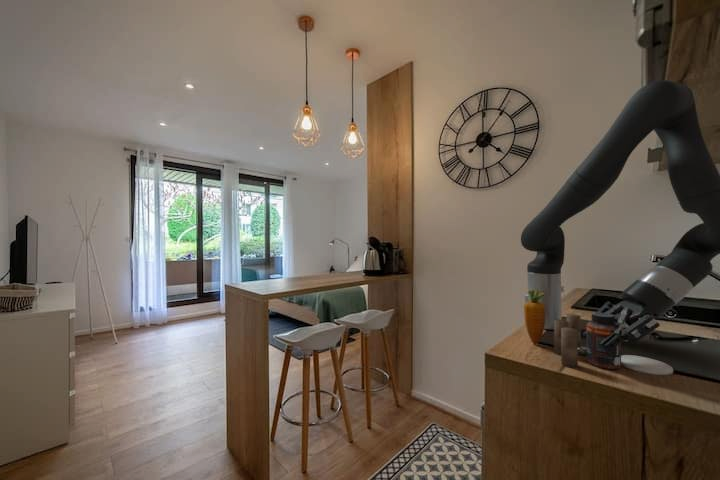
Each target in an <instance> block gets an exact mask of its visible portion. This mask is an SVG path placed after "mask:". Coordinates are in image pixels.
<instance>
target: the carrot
mask: <svg viewBox="0 0 720 480" xmlns="http://www.w3.org/2000/svg"><path fill="white" fill-rule="evenodd" d="M528 292H529V294H530V297H531V301H529V302H526V303H525V302H524V304H523V313H524V314H523V316H524V322H525V323H524V324H525V328H526V332H527V334H528V336H529V338H530V340H531V342H532V344H534V345H537V344H538V343H539V342H540V340H541V338H542V335H543V333H544V330H545V329H544V325H545V306H544V305H543V304H542V303H540V302H538V300H539V299H540V298H541V297H542V296H544V295H545V294H544V293H542V294H540V295H539V296H538V293H539V290H537V291H536V294H535V297H534V290H533V289H531V290H530V291H528V290H527V293H528Z"/></svg>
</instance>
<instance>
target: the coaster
mask: <svg viewBox="0 0 720 480" xmlns="http://www.w3.org/2000/svg"><path fill="white" fill-rule="evenodd" d="M621 367H624V368H626V369H629V370H631V371H632V370H633V371H635V372H638V373H643V374H648V375H654V376H670V375H673V374H674V369H673V367H672V366H671V365H669V364H667V363H665V362H664V361H660V360H657V359H653V358H651V357H650V358H649V357H646V356H639V355H634V354H633V355H631V354H623V355H622V354H621Z"/></svg>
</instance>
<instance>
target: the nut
mask: <svg viewBox="0 0 720 480" xmlns="http://www.w3.org/2000/svg"><path fill="white" fill-rule="evenodd" d="M578 355H582V356H587V346H578Z"/></svg>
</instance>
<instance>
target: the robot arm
mask: <svg viewBox="0 0 720 480" xmlns="http://www.w3.org/2000/svg"><path fill="white" fill-rule="evenodd" d="M699 122H700V121H699V118H698V111H697V107H696V102H695V96H694V93H693V90H692V89H691V87H689V86H687V85H686V84H683V83H682V82H681V83H680V82H676V81H675V82H674V81H672V80H665V79H664V80H663V79H661V80H658V81H657V80H656V81H653V82H651V83H648V84H646V85H644V86H642V87H641V88H639V89H638V90H637V91H636V92H635V93H634V94H633V95H632V96H631V97H630V98H629V100H628V101H627V103H626V104H625V105H624V107H623V109H622V110H621V112H620V113H619V115H618V116H617V117H616V119H615V120H614V122H613V123H612V125H611V126H610V127H609V129H608V130H607V132H606V133H605V134H604V136H603V137H602V139H600V141H599V142H598V143H597V144H596V145H595V146H594V148H593V149H592V150H591V151H590V152H589V153H588V155H587V156H586V158H584V160H583V161H582V162H581V163H580V164H579V166H577V168H576V169H575V170H574V172H573V173H572V174H571V175H570V177H568V179H567V180H566V181H565V182H564V184H563V185H562V186H561V188H560V189H559V190H558V191H557V192H556V194H555V195H554V196H553V198H552V199H551V200H550V201H549V202H548V203H547V204H546V206H545V207H544V208H543V209H542V210H541V211H540V212H538V214H537V215H536V216H535V217H534V218H532V220H531V221H529V223H527V224H526V226H525V227H524V229H523V230H522V232H521V235H520V244H521V246H522V247H523V248H524V249H525V250H526V251H530V252H535V253H536V256H535V258H534V259H533V260H531V261H530V262H529V263H528V264H527V267H526V271H527V273H526V274H527V275H526V276H527V277H526V278H527V293H526V294H525V295H524V304H525V303H526V302H529V301H531V297H530V294H529V292H528V291H530V290H531V289H533V290H534V297H535V294H536V291H537V290H539V293H538V296H539V295H540V294H542V293H544V294H545V295H544V296H542V297H541V298H540V299H539V300H538V302H540V303H542V304H543V305H544V306H545V325H544V330H553V331H554V320H557V319H558V320H563V319H562V318H563V317H562V314H563V313H562V267H563V265H564V263H565V246H566V245H565V243H566V239H565V234H564V230H563V229H562V225H563V224H564V223H566V221H568V220H570V219H571V218H573V217H574V216H576V215H578V214H579V213H581V212H583V211H584V210H586V209H587V208H589V207H590V206H592V205H593V204H595V203H596V202H597V201H598V200H600V198H602V197H603V195H604V194H605V193H607V191H609V189H610V188H611V187H612V186H613V185H614V184H615V182H616V181H617V180H618V179H619V177H620V175H621V174H622V171H623V169H624V167H625V165H626V163H627V161H628V160H629V158H630V156H631V154H632V153H633V152H634V150H635V149H636V148H637V146H638V145H639V144H640V143H641V142H642V141H643V140H644V139H646V137H647V136H649V134H650V133H652V132H655V134H656V135H657V136H658V138H659V139H660V142H661V144H662V146H663V149H664V152H665V157H666V164H667V173H668V177H669V181H670V184H671V186H672V191H673V192H674V194H675V197H676V199H677V201H678V203H679V206H680V207H681V209H682V211H684V212H685V213H688V214H695V215H697V216H698V217H699V218H700V220H701V221H702V223H699V224H697V225H695V226H693V227H691V228H690V229H688V230H687V231H686V232H685V233H684V234H683V235H682V236H681V237H680V239H679V240H678V242H677V243H676V244H675V246H674V247H673V249H672V251H671V252H670V253H669V254H666V256H665V257H664V258H662V260H660V261H659V262H657V264H655V265H654V266H653V267H652V268H650V269H648V270H646V271H645V272H643V274H641V276H639V277H638V278H637V279H636V280H634V282H632V283H631V284H630V285H628V287H626V288H625V289H624V290H623V291H622V292H621V297H622V300H621V301H619V302H618V303H616V304H613V303H611V301H607V302H605V303H604V304H603V305H602V306H601V307H600V308H599V309H598V310H597V311H596V312H599V313H608V314H612V315H614V316H615V321H614V322H615V324H616V325H617V327H616V329H615V331H614V333H615V334H614V333H611V334H610V335H608V336H607V337H606V338H605V339H604V340H602V341H601V342H600V343H599V345H600V346H601V347H602V348H603V349H604V350H606V351H607V352H610V351H611V350H613V349H614V348H615V347H617V346H618V345H619V344H620V343H621V344H622V342H628V341H630V342H631V343H633V344H634V343H637V342H638V341H639V340H641V339H643V338H645V336H647V335H649V334H650V333H651V332H653V331H654V330H656V329H658V327H660V326H661V324H660V323H659V322H658V321H657V320H656V319H659V318H661V317H662V316H664V315H665V313H667V312H669V310H671V309H672V308H673V307H675V305H676V304H678V303H679V302H681V300H682V299H684V298H685V297H686V296H687V295H688V294H689V293H690V292H691V290H693V288H695V287H696V286H697V285H699V284H700V283H701V282H702V281H703V280H705V278H707V277H708V276H709V275H710V274H711V273H712V271H713V269H714V268H713V264H712V260H713V259H714V258H715V257H717V256H718V255H720V173H719V170H718V168H717V166H716V164H715V162H714V159H713V158H712V155H711V154H710V151H709V149H708V147H707V145H706V142H705V139H704V136H703V132H702V129H701V126H700V123H699ZM590 319H591V320H592V318H590ZM582 336H583V337H584V338H586V340H587V331H586V330H585V331H584V332H583V333H582Z"/></svg>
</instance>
